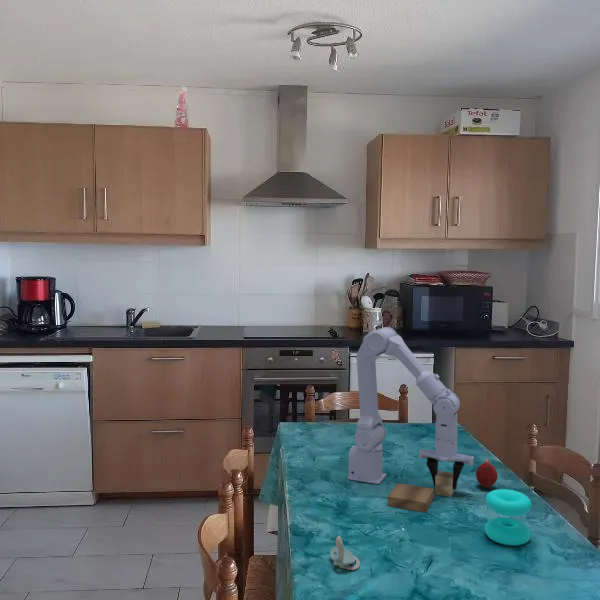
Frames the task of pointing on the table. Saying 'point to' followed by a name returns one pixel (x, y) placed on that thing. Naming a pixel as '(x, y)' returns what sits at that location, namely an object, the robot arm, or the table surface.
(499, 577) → the table surface
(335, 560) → the pacifier
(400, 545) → the table surface
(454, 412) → the robot arm
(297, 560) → the table surface
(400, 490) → the walnut block
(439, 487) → the maple block
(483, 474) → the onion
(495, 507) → the donuts
